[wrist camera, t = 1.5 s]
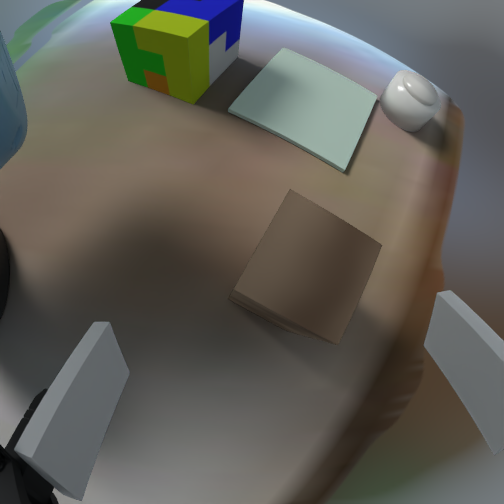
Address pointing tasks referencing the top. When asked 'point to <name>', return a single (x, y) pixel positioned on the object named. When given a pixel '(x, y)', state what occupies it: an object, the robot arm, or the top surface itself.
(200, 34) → the puzzle toy
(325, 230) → the walnut block
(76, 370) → the robot arm
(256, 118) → the pad
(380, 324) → the top surface
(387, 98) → the sugar bowl
